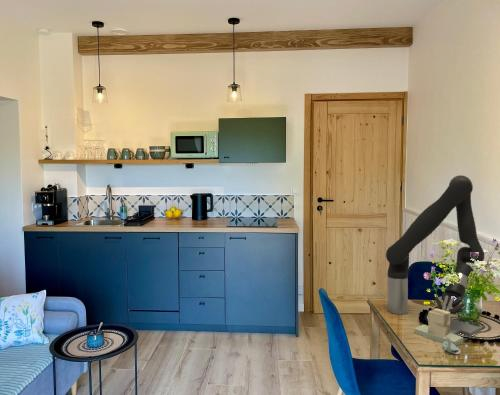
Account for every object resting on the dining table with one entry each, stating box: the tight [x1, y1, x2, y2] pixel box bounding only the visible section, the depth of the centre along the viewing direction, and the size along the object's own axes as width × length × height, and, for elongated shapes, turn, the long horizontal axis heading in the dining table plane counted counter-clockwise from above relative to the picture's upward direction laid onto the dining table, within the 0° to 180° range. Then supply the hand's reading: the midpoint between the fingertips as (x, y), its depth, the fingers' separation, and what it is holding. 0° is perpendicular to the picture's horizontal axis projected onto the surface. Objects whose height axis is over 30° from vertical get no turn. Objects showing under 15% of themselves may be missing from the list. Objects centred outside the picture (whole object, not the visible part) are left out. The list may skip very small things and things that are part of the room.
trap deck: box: [414, 318, 482, 347], centre depth 170 cm, size 22×17×2 cm
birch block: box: [427, 307, 451, 338], centre depth 165 cm, size 6×6×9 cm
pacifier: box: [442, 335, 462, 355], centre depth 154 cm, size 7×6×6 cm
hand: (442, 320), depth 167 cm, fingers closed
